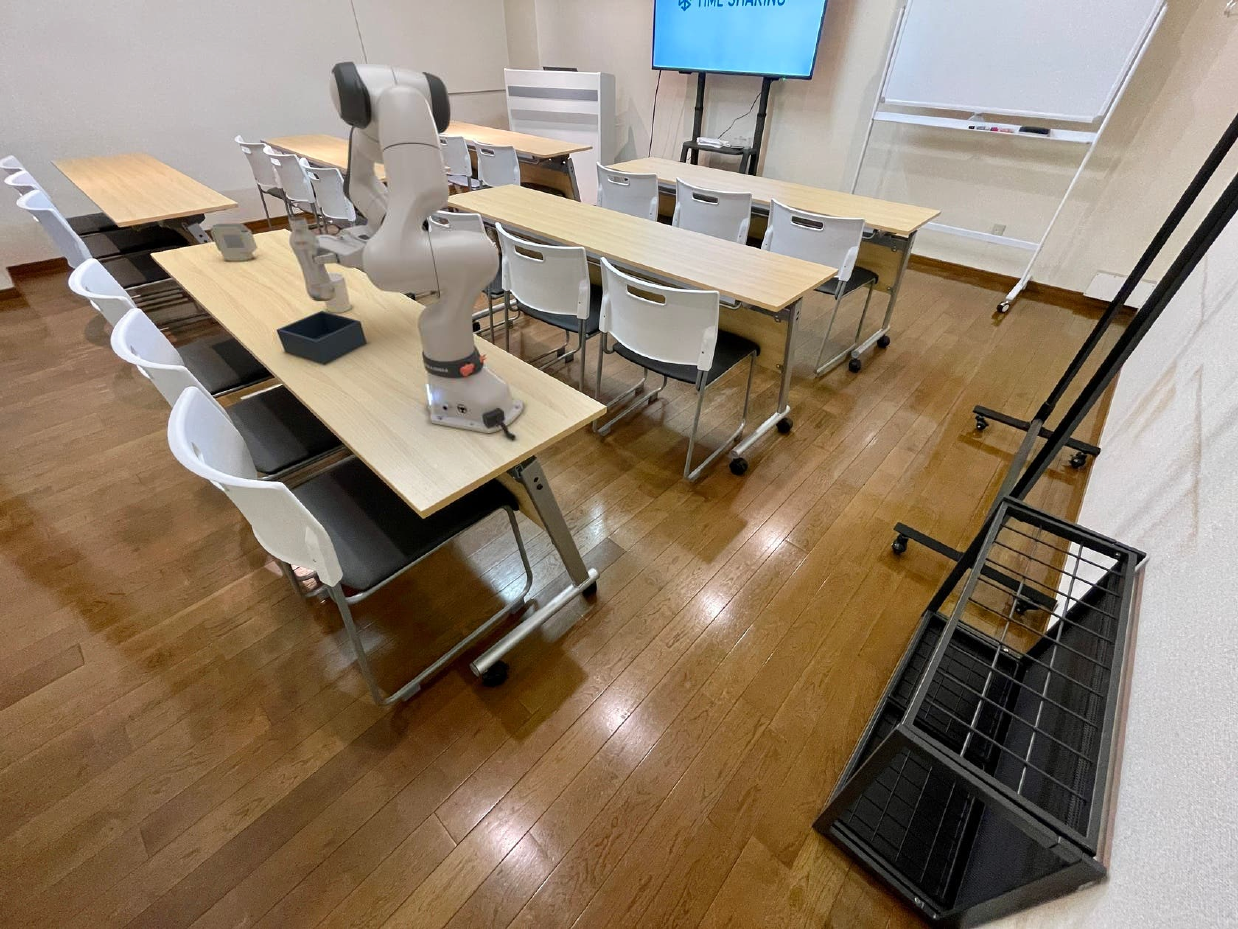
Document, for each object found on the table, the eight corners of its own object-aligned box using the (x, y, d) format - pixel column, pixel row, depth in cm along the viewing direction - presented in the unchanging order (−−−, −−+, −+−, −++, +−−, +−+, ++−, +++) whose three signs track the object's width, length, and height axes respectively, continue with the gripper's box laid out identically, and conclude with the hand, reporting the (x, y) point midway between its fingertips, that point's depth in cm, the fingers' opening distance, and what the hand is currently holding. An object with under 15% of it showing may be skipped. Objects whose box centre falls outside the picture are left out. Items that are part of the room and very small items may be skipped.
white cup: (346, 301, 168) (337, 270, 162) (357, 309, 164) (348, 277, 158) (321, 307, 164) (311, 276, 158) (331, 315, 160) (321, 283, 153)
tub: (367, 343, 147) (360, 321, 142) (324, 364, 136) (316, 341, 132) (329, 332, 151) (321, 310, 147) (285, 352, 141) (275, 329, 136)
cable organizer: (256, 261, 194) (243, 227, 186) (219, 262, 192) (204, 227, 184) (262, 255, 199) (249, 222, 192) (226, 256, 197) (211, 222, 189)
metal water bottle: (333, 304, 135) (307, 222, 123) (306, 304, 134) (276, 222, 122) (341, 294, 140) (316, 215, 127) (314, 295, 139) (287, 215, 127)
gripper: (329, 225, 141) (279, 236, 132) (376, 240, 133) (325, 253, 124) (336, 249, 145) (288, 261, 136) (382, 265, 137) (334, 279, 128)
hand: (306, 258), depth 130 cm, fingers closed on metal water bottle, 6 cm apart
